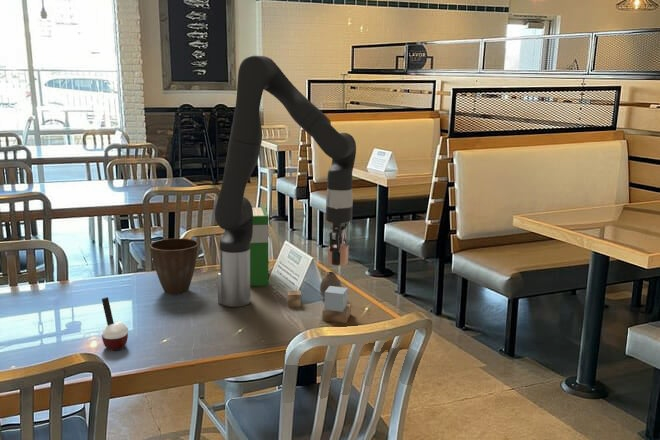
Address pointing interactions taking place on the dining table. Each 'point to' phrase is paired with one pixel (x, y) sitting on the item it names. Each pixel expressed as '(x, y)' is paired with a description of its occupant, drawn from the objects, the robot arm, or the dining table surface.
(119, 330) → the fishing bobber
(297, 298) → the maple block
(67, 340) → the dining table surface
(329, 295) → the slate cube
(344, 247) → the terracotta cube
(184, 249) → the plant pot
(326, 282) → the vase
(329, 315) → the walnut slab
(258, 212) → the hardback book
